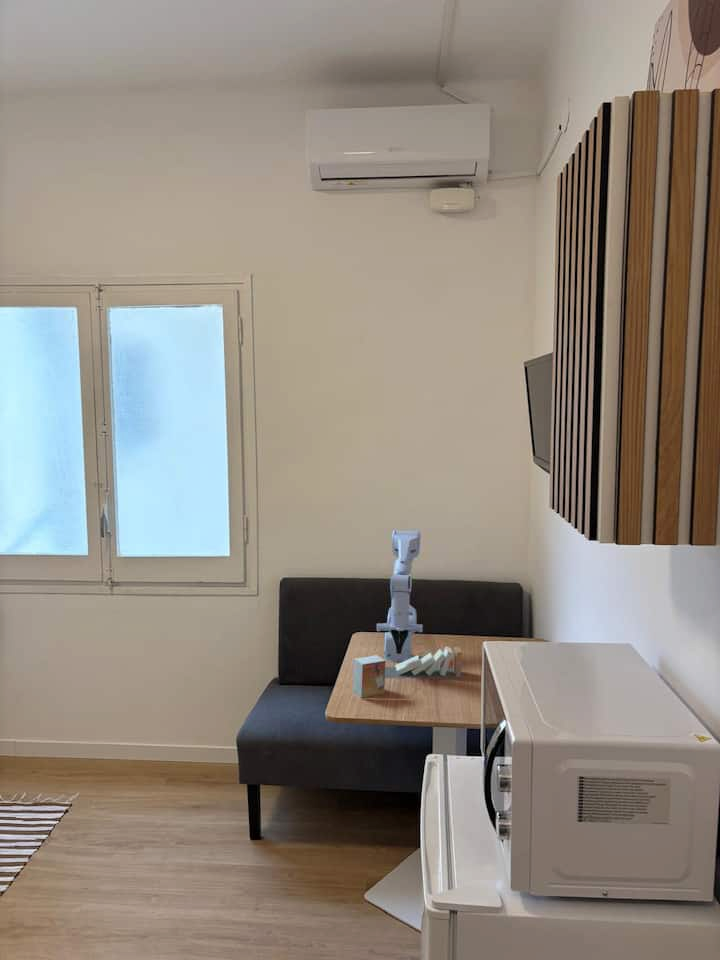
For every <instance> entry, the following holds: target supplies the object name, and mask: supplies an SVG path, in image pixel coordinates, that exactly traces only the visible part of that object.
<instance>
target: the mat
mask: <svg viewBox="0 0 720 960" xmlns="http://www.w3.org/2000/svg"><path fill="white" fill-rule="evenodd" d="M438 668H439V667H437V668H436V669H435V670H434V672H433V673H432V674H431V675H430V676H429V675H428V674H427V673H426V672H425V669H424V670H422V671H421V672H419V673H418V674H416V675H415V676H414V675H413V673H412V672H411V670H410V671H407V672H405V673H403V674H401V675H398V673H397V671H396V666H385V679H389V678H390V679H428V680H429V679H434V680H443V679H444V680H466V677H465V675H464V673H463V670H462V669H461V677H456V676H455V674H454V671H453V668H452V667H450V668H448V669H447V672H446V675H445V676H442V675H440V673H439V670H438Z"/></svg>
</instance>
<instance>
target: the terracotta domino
mask: <svg viewBox="0 0 720 960" xmlns="http://www.w3.org/2000/svg"><path fill="white" fill-rule="evenodd" d="M462 658H463V652H462V649H461V647H460V646H454V647H453V671H454V674H455V676H456V677H461V670H462V660H463V659H462Z"/></svg>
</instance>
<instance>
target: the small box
mask: <svg viewBox="0 0 720 960" xmlns="http://www.w3.org/2000/svg"><path fill="white" fill-rule="evenodd" d="M385 667H386V661H385V659H383V658H382V657H381V656H379V655H377V654H375V655H370V656H365V657H355V658H354V659H353V679H352V680H353V683H352V692H354V693H355V694H356V695H357V696H358V697H359V698H360V699H364V698H368V697H374V696H378V695H379V696H380V695H383V694H385V684H386V678H385Z"/></svg>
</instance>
